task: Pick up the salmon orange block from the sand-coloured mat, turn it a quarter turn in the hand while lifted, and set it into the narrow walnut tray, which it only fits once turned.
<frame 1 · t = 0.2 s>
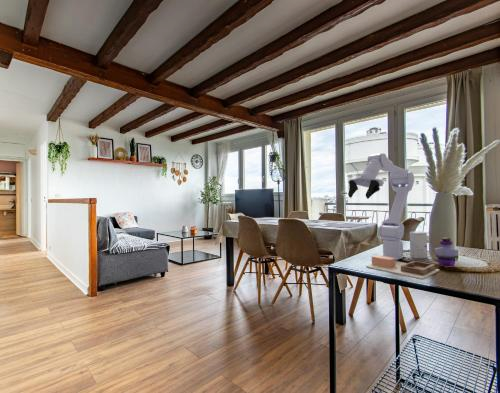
hand: (358, 196, 115), 31 cm above the table, tool tilted 45°, fingers open, 7 cm apart
skincare box: (418, 257, 131), on the table
salmon orange block: (383, 265, 118), resting on mat
mat: (401, 268, 114), on the table
potion bottle: (446, 266, 115), on the table
tray: (418, 270, 109), resting on mat
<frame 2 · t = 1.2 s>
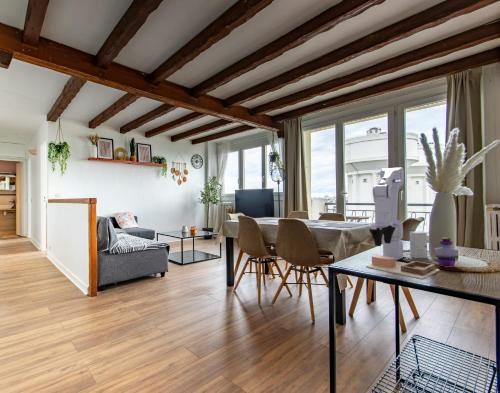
hand: (382, 244, 118), 9 cm above the table, tool pointing down, fingers open, 7 cm apart
nothing on the table moved.
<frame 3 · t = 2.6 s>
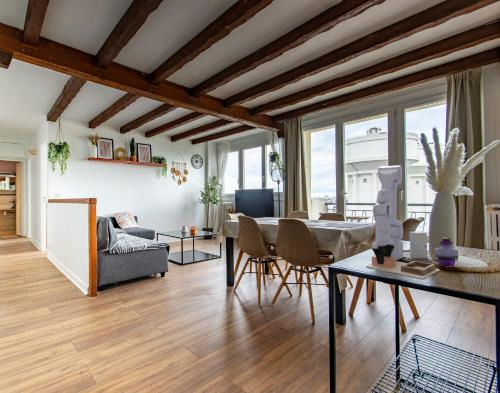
hand: (383, 262, 118), 2 cm above the table, tool pointing down, fingers closed on salmon orange block, 4 cm apart
salmon orange block: (383, 265, 118), resting on mat, touching gripper
everything else where it was.
when the fingers open (3 cm above the table, at t = 6.7 s): salmon orange block drops 1 cm, resting on tray.
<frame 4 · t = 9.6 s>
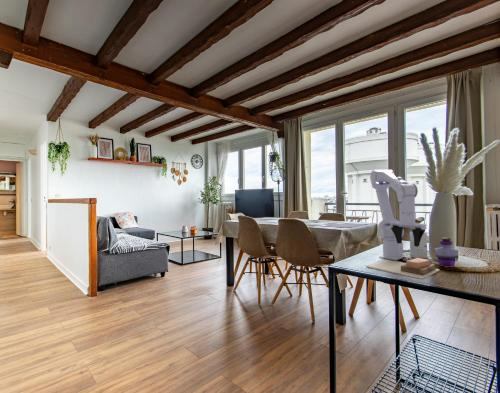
hand: (407, 244, 116), 9 cm above the table, tool pointing down, fingers open, 7 cm apart
salmon orange block: (418, 269, 109), point 1 cm above the table, touching tray
everything else where it was.
at the end: salmon orange block 0.0 cm off-centre on the tray, point 0.4 cm above the tray's base; salmon orange block tilted 0°; the gripper is holding nothing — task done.
